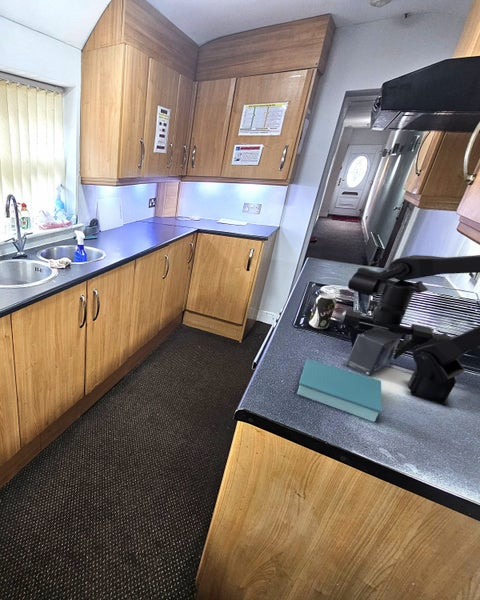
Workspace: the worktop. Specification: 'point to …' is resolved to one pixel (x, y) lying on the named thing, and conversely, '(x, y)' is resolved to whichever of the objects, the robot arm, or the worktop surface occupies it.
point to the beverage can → (322, 311)
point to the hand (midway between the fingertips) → (373, 352)
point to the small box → (373, 350)
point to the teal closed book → (341, 389)
